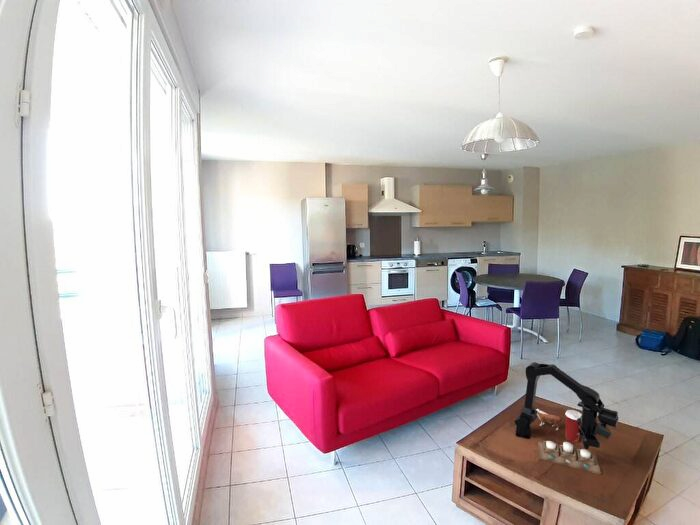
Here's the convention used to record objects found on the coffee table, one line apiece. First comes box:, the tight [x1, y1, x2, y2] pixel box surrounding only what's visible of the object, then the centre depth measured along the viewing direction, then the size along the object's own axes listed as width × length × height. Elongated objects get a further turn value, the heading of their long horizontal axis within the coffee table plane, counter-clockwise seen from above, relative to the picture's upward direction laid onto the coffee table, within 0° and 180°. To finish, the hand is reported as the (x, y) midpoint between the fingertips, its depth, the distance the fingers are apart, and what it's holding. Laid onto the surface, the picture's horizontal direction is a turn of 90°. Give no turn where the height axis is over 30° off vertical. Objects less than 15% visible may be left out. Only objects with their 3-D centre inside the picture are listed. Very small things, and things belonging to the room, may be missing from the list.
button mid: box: [562, 441, 574, 454], centre depth 164 cm, size 4×4×4 cm
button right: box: [580, 448, 591, 458], centre depth 161 cm, size 4×4×4 cm
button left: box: [546, 440, 557, 450], centre depth 167 cm, size 4×4×4 cm
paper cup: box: [564, 409, 582, 443], centre depth 177 cm, size 8×8×14 cm
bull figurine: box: [535, 408, 563, 431], centre depth 188 cm, size 4×13×8 cm, turn 54°
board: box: [537, 440, 602, 476], centre depth 163 cm, size 24×12×4 cm, turn 64°
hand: (586, 449), depth 161 cm, fingers closed
